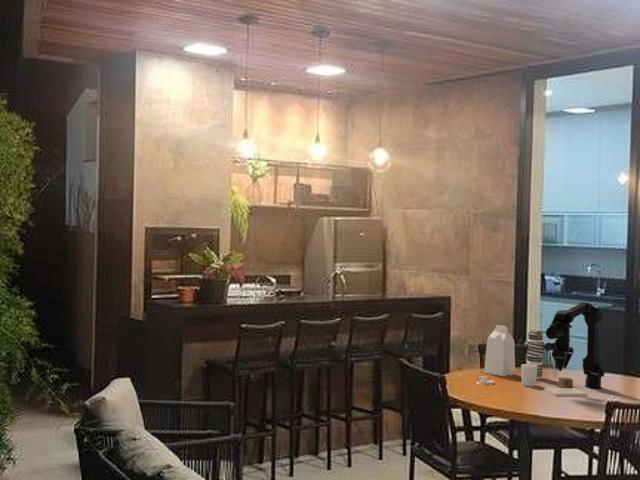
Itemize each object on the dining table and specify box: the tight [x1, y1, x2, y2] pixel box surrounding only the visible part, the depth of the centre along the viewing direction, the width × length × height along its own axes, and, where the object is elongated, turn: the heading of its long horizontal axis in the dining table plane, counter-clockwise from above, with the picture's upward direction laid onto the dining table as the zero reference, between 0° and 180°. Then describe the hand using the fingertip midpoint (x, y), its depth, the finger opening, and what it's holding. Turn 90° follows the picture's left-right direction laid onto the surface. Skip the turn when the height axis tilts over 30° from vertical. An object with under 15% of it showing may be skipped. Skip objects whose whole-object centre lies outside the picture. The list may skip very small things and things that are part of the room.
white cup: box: [520, 363, 537, 387], centre depth 398 cm, size 8×8×10 cm
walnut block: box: [558, 377, 574, 388], centre depth 393 cm, size 5×5×5 cm
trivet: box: [544, 387, 588, 397], centre depth 380 cm, size 16×12×1 cm
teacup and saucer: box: [475, 375, 495, 386], centre depth 398 cm, size 9×8×4 cm
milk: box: [483, 324, 516, 377], centre depth 428 cm, size 12×12×26 cm
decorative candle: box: [526, 329, 545, 380], centre depth 420 cm, size 9×9×25 cm
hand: (562, 369), depth 380 cm, fingers open, 9 cm apart
